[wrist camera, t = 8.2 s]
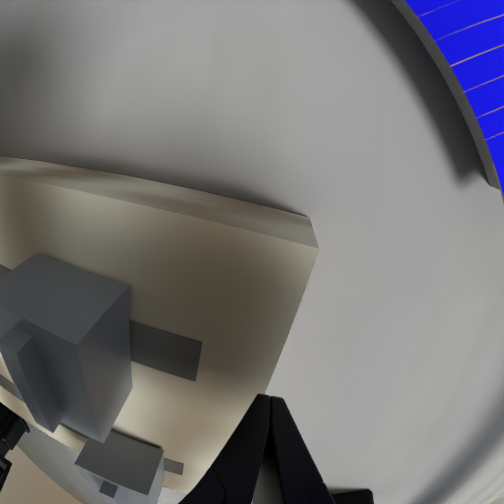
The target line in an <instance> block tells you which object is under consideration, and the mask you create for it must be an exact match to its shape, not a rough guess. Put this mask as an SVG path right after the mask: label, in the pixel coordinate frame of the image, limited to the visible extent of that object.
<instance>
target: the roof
mask: <svg viewBox="0 0 504 504" xmlns="http://www.w3.org/2000/svg"><path fill="white" fill-rule="evenodd" d="M390 1H391V2H392V3H393V4H394V5H395V7H396V8H397V9H398V10H399V12H400V13H401V14H402V15H403V17H404V18H405V19H406V21H407V22H408V23H409V25H410V26H411V27H412V29H413V30H414V32H415V33H416V34H417V36H418V37H419V39H420V40H421V42H422V43H423V45H424V46H425V48H426V49H427V51H428V52H429V54H430V55H431V57H432V59H433V60H434V62H435V64H436V65H437V67H438V69H439V70H440V72H441V74H442V76H443V77H444V79H445V81H446V83H447V84H448V86H449V88H450V90H451V92H452V94H453V96H454V98H455V100H456V102H457V104H458V106H459V108H460V110H461V112H462V114H463V116H464V119H465V121H466V123H467V125H468V128H469V130H470V132H471V135H472V137H473V140H474V142H475V145H476V147H477V150H478V152H479V155H480V158H481V161H482V163H483V166H484V169H485V172H486V175H487V178H488V181H489V185H490V186H492V187H494V188H497V189H500V191H501V195H502V199H503V202H504V0H390Z"/></svg>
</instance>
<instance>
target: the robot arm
mask: <svg viewBox="0 0 504 504" xmlns="http://www.w3.org/2000/svg"><path fill="white" fill-rule="evenodd" d="M25 431H26V432H27V433H29V432H30V430H29V428H28V427H27V425H26V423H25V422H24V420H23V419H22V417H20V416H19V415H17V414H16V413H15V412H13V411H12V410H11V409H9V408H8V407H7V406H5V405H4V404H3V403H1V402H0V491H1V490H2V487H3V485H4V482H5V480H6V477H7V475H8V473H9V470H10V467H11V465H12V463H11V462H10V461H9V460H7V459H5V458H4V457H5V455H6V454H7V452H8V451H9V449H10V450H13V448H14V447H15V445H16V444H17V442H18V441H19V439H20V438H21V436H22V435H23V433H24V432H25ZM252 498H253V504H336V503H335V501H334V500H333V498H332V496H331V494H330V492H329V491H328V489H327V487H326V485H325V483H323V479H322V477H321V475H320V473H319V471H318V469H317V467H316V465H315V463H314V461H313V459H312V457H311V455H310V453H309V451H308V449H307V447H306V445H305V443H304V441H303V439H302V436H301V434H300V432H299V430H298V428H297V426H296V424H295V422H294V420H293V418H292V416H291V414H290V411H289V409H288V407H287V405H286V403H285V401H284V399H283V398H281V397H276V396H271V397H270V396H269V395H265V394H260V393H258V394H257V395H256V397H255V398H254V400H253V402H252V403H251V405H250V406H249V408H248V410H247V411H246V413H245V414H244V416H243V418H242V419H241V421H240V422H239V424H238V425H237V427H236V429H235V430H234V432H233V433H232V435H231V436H230V438H229V439H228V441H227V442H226V444H225V445H224V447H223V448H222V450H221V451H220V453H219V454H218V456H217V457H216V459H215V460H214V461H213V463H212V464H211V466H210V468H208V470H207V471H206V473H205V474H204V476H203V477H202V478H201V479H200V481H199V482H198V483H197V484H196V486H195V487H194V488H193V489H192V490H191V491H190V492H189V493H188V494H187V495H186V496H185V497H184V499H182V500H181V501H180V502H179V503H178V504H251V502H252Z"/></svg>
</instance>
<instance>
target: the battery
mask: <svg viewBox="0 0 504 504" xmlns="http://www.w3.org/2000/svg"><path fill="white" fill-rule="evenodd" d="M331 496H332V498H333V500H334V501H335V503H336V504H374V501H373V493H372V491H370V490H365V491H358V492H352V493H345V494H337V495H331Z"/></svg>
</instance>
